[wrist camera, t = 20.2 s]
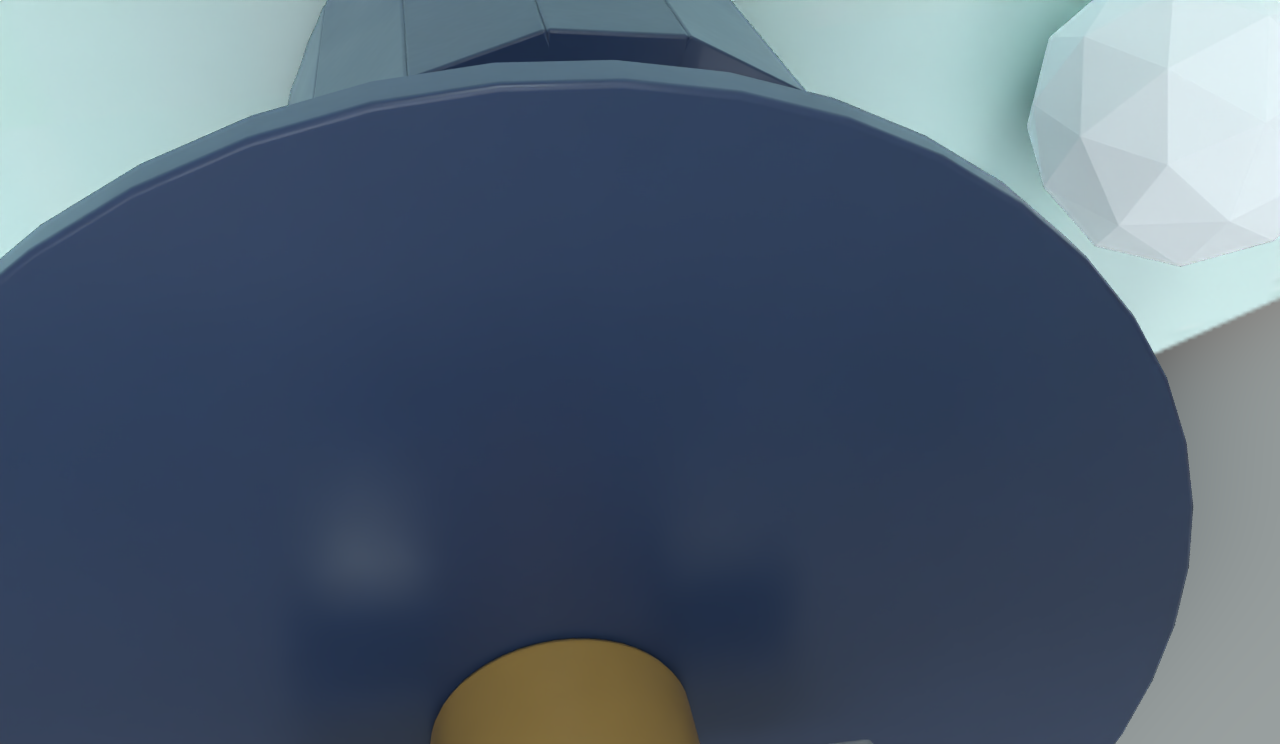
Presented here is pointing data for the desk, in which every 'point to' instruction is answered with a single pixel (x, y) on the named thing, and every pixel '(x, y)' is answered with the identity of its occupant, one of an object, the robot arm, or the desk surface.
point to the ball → (1164, 125)
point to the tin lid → (576, 433)
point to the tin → (525, 38)
